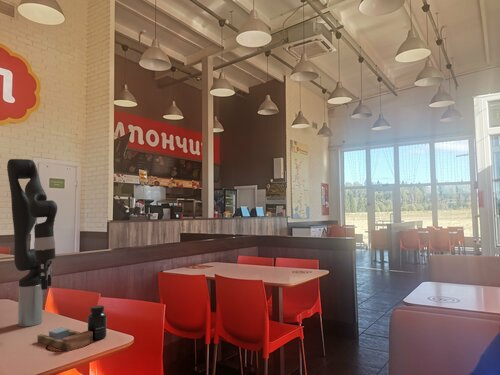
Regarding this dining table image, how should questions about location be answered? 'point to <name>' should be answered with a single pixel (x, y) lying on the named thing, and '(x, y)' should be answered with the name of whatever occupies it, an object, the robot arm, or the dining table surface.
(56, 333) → the block
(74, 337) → the track
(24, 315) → the robot arm
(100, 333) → the supplement bottle
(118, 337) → the dining table surface
